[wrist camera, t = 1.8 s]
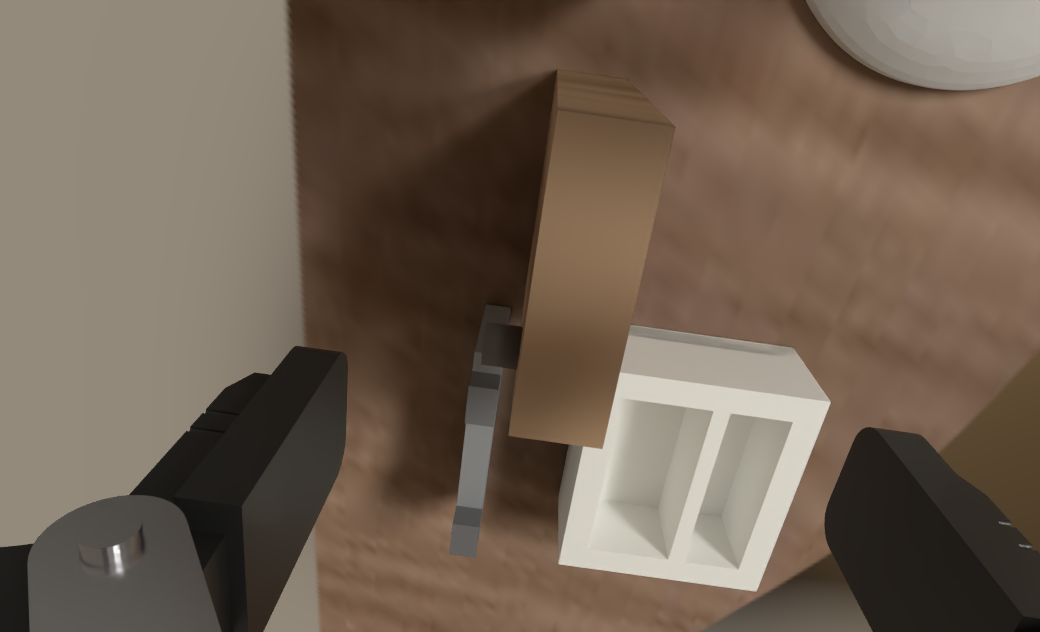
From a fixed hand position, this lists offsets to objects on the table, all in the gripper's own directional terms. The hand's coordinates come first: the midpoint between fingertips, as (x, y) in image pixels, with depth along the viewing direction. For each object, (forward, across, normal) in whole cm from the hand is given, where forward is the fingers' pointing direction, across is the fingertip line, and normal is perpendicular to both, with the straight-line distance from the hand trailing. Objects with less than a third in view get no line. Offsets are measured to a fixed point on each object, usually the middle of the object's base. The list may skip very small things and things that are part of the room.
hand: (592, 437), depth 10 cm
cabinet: (+15, -4, +9) cm, 18 cm away
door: (+15, 0, 0) cm, 15 cm away
